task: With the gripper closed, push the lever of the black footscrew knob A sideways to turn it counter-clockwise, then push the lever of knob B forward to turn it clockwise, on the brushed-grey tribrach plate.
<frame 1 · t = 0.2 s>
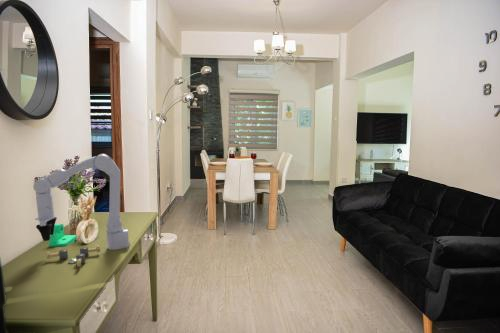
hand: (48, 237, 144), 10 cm above the table, fingers open, 7 cm apart
knob A: (57, 255, 142), point 3 cm above the table, hinge at 0.0°
camera mount: (64, 244, 164), on the table
knob B: (79, 261, 135), point 3 cm above the table, hinge at 0.0°
tribrach plate: (74, 264, 140), on the table
knob C: (90, 251, 145), point 3 cm above the table, hinge at 0.0°
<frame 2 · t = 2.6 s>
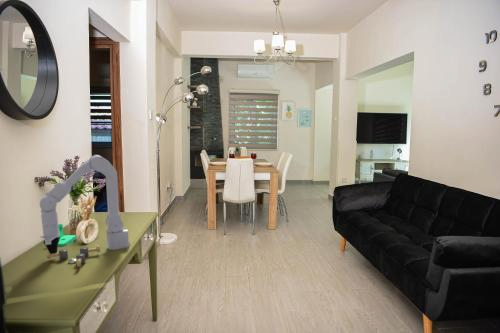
hand: (53, 255, 143), 3 cm above the table, fingers closed, pressing on knob A
knob A: (57, 255, 142), point 3 cm above the table, hinge at 0.0°, touching gripper
everything else where it was.
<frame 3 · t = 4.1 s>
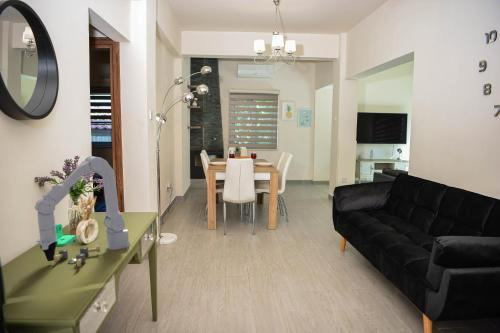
hand: (50, 260, 137), 3 cm above the table, fingers closed
knob A: (60, 256, 140), point 3 cm above the table, hinge at 69.6°, touching gripper
everything else where it was.
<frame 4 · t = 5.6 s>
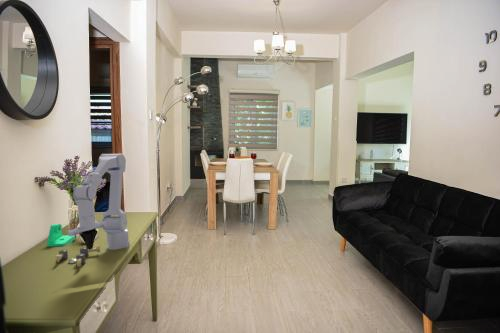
hand: (89, 248, 134), 8 cm above the table, fingers closed
knob A: (61, 256, 140), point 3 cm above the table, hinge at 76.9°
everything else where it was.
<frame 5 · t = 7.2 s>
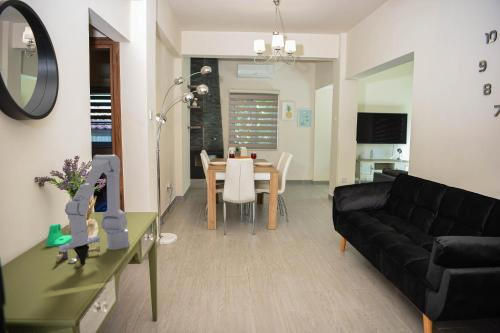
hand: (82, 263, 133), 3 cm above the table, fingers closed, pressing on knob B
knob A: (61, 256, 140), point 3 cm above the table, hinge at 77.7°
knob B: (79, 261, 135), point 3 cm above the table, hinge at -1.7°, touching gripper
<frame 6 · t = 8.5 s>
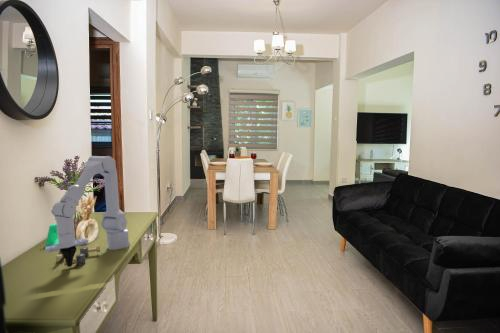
hand: (69, 265, 132), 3 cm above the table, fingers closed
knob B: (74, 261, 135), point 3 cm above the table, hinge at -65.3°
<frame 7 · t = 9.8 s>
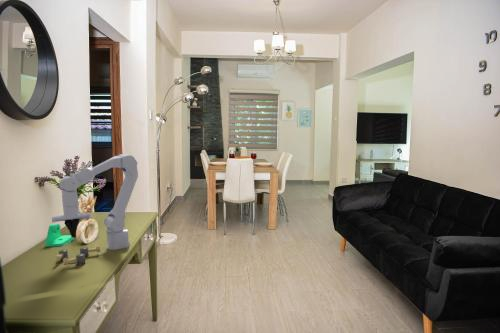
hand: (73, 236, 143), 10 cm above the table, fingers closed
knob B: (74, 260, 136), point 3 cm above the table, hinge at -72.7°
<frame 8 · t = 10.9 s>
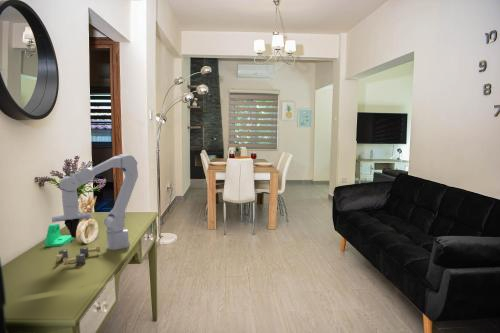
hand: (73, 236, 143), 10 cm above the table, fingers closed
knob B: (74, 260, 136), point 3 cm above the table, hinge at -73.7°
at the end: knob A at +78° (first picture: +0°); knob B at -74° (first picture: +0°) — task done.
